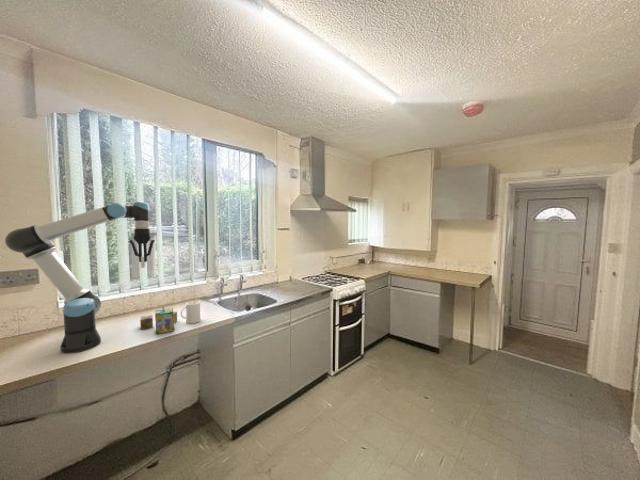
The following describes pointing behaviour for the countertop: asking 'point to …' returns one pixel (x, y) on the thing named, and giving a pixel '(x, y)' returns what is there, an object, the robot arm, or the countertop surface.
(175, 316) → the walnut block
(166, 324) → the chalk box
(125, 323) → the countertop surface
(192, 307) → the mug
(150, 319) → the walnut block
